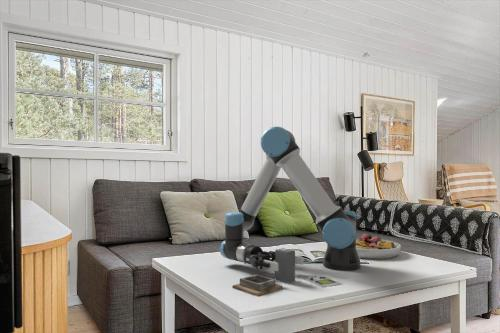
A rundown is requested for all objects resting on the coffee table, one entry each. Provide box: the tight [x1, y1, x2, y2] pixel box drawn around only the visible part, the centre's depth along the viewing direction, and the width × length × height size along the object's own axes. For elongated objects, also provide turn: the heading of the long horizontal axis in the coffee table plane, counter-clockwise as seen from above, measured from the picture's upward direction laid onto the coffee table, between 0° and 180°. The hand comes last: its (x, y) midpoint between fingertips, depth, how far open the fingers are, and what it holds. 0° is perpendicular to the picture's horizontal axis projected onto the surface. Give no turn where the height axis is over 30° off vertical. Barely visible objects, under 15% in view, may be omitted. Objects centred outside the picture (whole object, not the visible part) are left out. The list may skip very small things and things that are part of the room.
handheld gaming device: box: [299, 273, 342, 288], centre depth 146 cm, size 9×1×15 cm
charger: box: [274, 248, 296, 284], centre depth 146 cm, size 4×6×11 cm
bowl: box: [356, 233, 402, 260], centre depth 193 cm, size 30×30×8 cm
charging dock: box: [232, 274, 283, 297], centre depth 136 cm, size 12×12×3 cm
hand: (290, 263), depth 144 cm, fingers open, 13 cm apart
